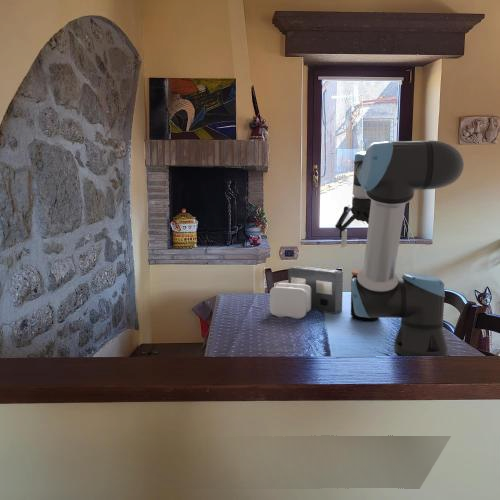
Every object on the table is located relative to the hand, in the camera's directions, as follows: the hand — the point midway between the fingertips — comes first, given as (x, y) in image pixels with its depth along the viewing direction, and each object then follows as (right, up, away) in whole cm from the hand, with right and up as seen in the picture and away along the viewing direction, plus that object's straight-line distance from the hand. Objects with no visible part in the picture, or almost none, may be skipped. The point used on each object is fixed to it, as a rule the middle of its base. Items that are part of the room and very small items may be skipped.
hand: (359, 250), depth 168 cm
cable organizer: (-26, -25, +8) cm, 37 cm away
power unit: (-15, -24, +17) cm, 33 cm away
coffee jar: (+2, -26, +1) cm, 26 cm away
